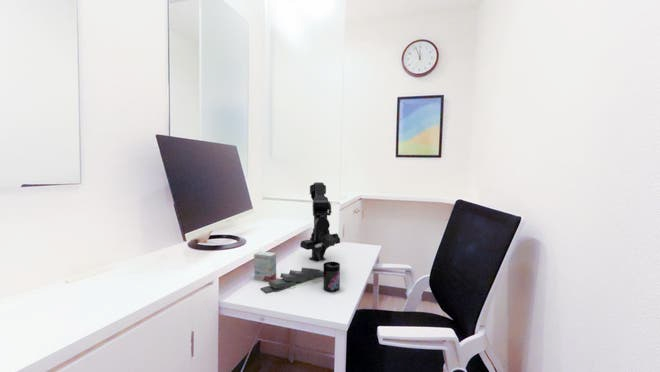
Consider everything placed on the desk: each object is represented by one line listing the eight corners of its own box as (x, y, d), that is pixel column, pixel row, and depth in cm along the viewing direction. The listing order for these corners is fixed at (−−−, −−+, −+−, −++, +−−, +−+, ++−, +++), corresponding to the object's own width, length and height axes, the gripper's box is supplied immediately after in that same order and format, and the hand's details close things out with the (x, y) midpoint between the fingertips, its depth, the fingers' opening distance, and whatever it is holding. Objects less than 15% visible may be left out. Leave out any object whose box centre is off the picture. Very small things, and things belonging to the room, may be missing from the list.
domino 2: (288, 281, 123) (268, 284, 116) (288, 277, 123) (269, 280, 116) (295, 285, 119) (275, 288, 112) (296, 281, 119) (275, 284, 112)
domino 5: (318, 273, 133) (301, 271, 127) (319, 269, 133) (302, 267, 127) (325, 276, 129) (307, 274, 123) (325, 272, 129) (308, 270, 123)
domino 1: (282, 285, 121) (260, 291, 115) (282, 281, 121) (260, 288, 115) (288, 289, 117) (266, 296, 111) (288, 285, 117) (266, 292, 111)
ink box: (276, 278, 126) (276, 252, 125) (271, 283, 122) (271, 255, 121) (260, 276, 129) (259, 250, 128) (253, 280, 125) (253, 253, 124)
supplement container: (324, 293, 112) (324, 267, 111) (322, 286, 119) (322, 261, 118) (341, 292, 113) (341, 266, 112) (338, 285, 120) (338, 261, 119)
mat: (280, 281, 123) (280, 281, 123) (325, 269, 138) (325, 269, 138) (291, 289, 116) (291, 288, 116) (336, 275, 131) (337, 274, 131)
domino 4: (306, 275, 129) (289, 273, 123) (307, 272, 129) (290, 270, 123) (313, 278, 125) (295, 277, 119) (314, 275, 125) (296, 273, 119)
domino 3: (298, 278, 126) (280, 277, 120) (299, 274, 126) (281, 273, 120) (305, 282, 122) (286, 280, 116) (306, 278, 123) (287, 276, 116)
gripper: (314, 233, 117) (314, 270, 118) (348, 227, 128) (347, 261, 129) (299, 228, 126) (299, 262, 127) (332, 223, 137) (332, 255, 138)
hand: (320, 260), depth 130 cm, fingers closed
